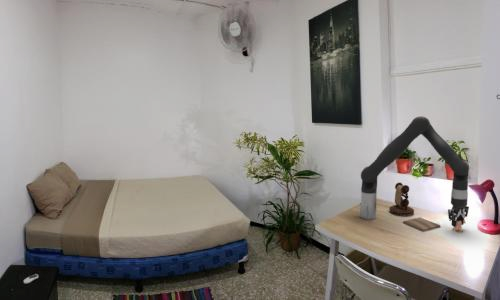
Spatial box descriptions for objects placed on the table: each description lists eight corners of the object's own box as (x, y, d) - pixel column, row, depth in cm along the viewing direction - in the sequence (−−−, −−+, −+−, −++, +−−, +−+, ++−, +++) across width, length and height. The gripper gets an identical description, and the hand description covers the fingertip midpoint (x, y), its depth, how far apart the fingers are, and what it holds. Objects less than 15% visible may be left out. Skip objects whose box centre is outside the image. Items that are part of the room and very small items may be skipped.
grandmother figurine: (463, 229, 170) (464, 208, 168) (465, 232, 166) (467, 211, 164) (447, 228, 172) (448, 207, 170) (449, 231, 169) (450, 210, 167)
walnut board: (422, 231, 169) (423, 229, 169) (402, 223, 182) (402, 221, 182) (440, 227, 174) (440, 225, 174) (419, 219, 187) (419, 217, 187)
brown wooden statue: (384, 209, 205) (385, 181, 202) (404, 208, 207) (405, 180, 204) (397, 217, 191) (398, 187, 188) (419, 215, 192) (420, 185, 189)
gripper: (461, 192, 172) (459, 220, 174) (443, 196, 167) (442, 225, 170) (475, 196, 165) (473, 225, 167) (457, 200, 160) (455, 230, 163)
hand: (457, 225), depth 169 cm, fingers open, 5 cm apart
